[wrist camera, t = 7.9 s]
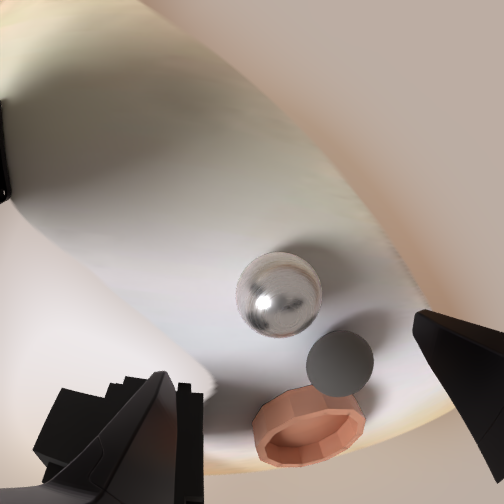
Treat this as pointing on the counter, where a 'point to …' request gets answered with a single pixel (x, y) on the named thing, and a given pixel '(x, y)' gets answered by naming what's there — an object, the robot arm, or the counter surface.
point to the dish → (306, 427)
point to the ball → (339, 364)
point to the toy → (97, 418)
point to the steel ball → (279, 295)
